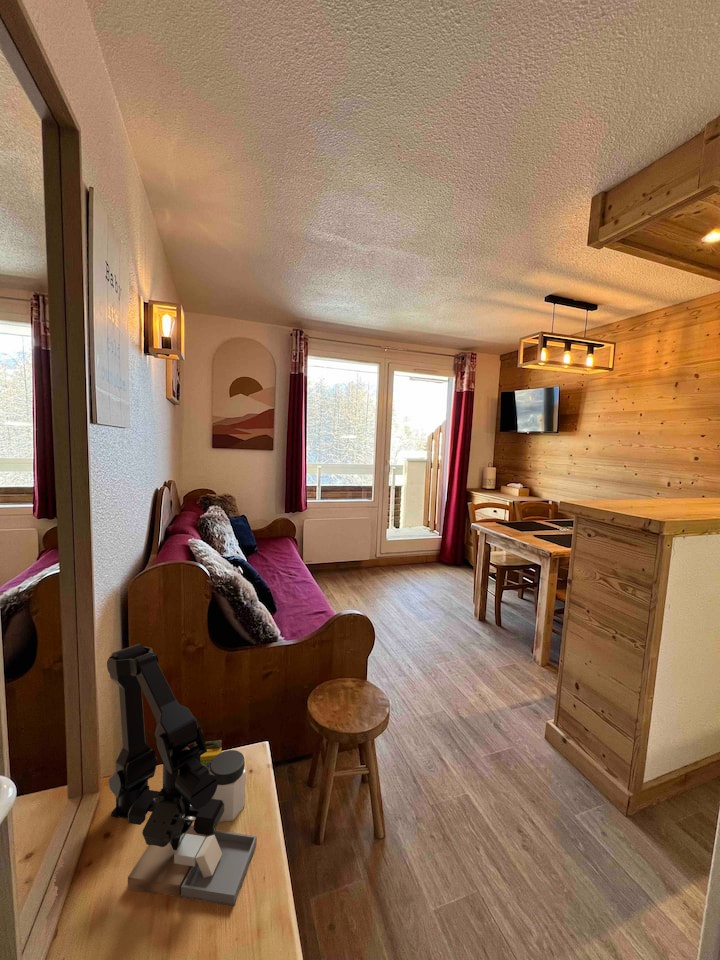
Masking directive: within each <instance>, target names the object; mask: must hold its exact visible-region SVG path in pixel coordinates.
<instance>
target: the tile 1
mask: <svg viewBox="0 0 720 960" xmlns="http://www.w3.org/2000/svg"><path fill="white" fill-rule="evenodd" d="M205 839H206V837H205V836H198V835H192V834H186V835H185V836H184V838H183V840H182V842H181V843H180V845H179V847H178V849H177V850H176V852H175V854H174V863H175V864H181V865H188V866H194V867H195V865H196V863H197V860H196V856H197V854H198V852H199V850H200V849H201V847H202V845H203V843H204V841H205Z"/></svg>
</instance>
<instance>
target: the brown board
mask: <svg viewBox="0 0 720 960" xmlns="http://www.w3.org/2000/svg"><path fill="white" fill-rule="evenodd" d="M186 834H192V835H198V836H205V837H207V835H203V834H197V833H196V832H195V830H194V825H191V826H190V828H189V830H188V831H187V832H186V833H184V835H183V838H184V836H185V835H186ZM183 838H182V840H183ZM182 840H181V842H182ZM175 852H176V850H173V848H172V846H171V844H170V843H168V844H167V845H166V846H165V847H160V846H155V845H147V847H146V849H145V850H144V851H143V853H142V854H141V856H140V858H139V860H138V861H137V862H136V864H135V865H134V867H133V869H132V870H131V871H130V873H129V875H127V890H132V891H133V890H134V891H138V892H146V893H151V894H158V895H163V896H171V897H177V898H181V886H182V884H183V882H184V880H185V878H186V876H187V874H188V872H189V870H190V869H191V867H192V866H188V865H181V864H175V863H174V854H175Z"/></svg>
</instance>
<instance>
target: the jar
mask: <svg viewBox="0 0 720 960" xmlns="http://www.w3.org/2000/svg"><path fill="white" fill-rule="evenodd" d="M245 766H246V765H245V757H244V754H243V753H242V752H241V751H238V750H234V749H230V750H223V751H222V752H221V753H219V754H218V755H217V756H215V757H214V758H213V760H212V761H211V764H210V772H211V773H212V774H213V775H215V776H216V778H217V780H218V785H217V789H216V792H215V794H214V795H213V797H212V799H217V800H223V801H224V812H223V814H222V816H221V818H220V820H219V822H218V823H222V822H223V823H224V822H232V821H235V819H236V818H237V816H238V815H239V814H240V813H241V811H242V810H243V808H244V807H245V805H246V780H247V779H246V778H247V774H246V773H247V770H246V769H245Z"/></svg>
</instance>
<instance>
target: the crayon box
mask: <svg viewBox="0 0 720 960" xmlns="http://www.w3.org/2000/svg"><path fill="white" fill-rule="evenodd" d="M222 742H223V741H222V739H219V740H209V741H207V740H206V742H205V745H207V744H209V746H206V748H207V752H205V753H204V754H202V755H201V756H200V762H201V764H202V765H204V766H205V767H207V768H208V769H209V771H210V764H211V761H212V760H213V758H214V757H215V756H217V755H218V754H219V753H221V752H223V751H222V749H223V748H222ZM192 744H193V747H194V746H196V745H197V743H196V742H194V743H192ZM210 744H213V745H210Z"/></svg>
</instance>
